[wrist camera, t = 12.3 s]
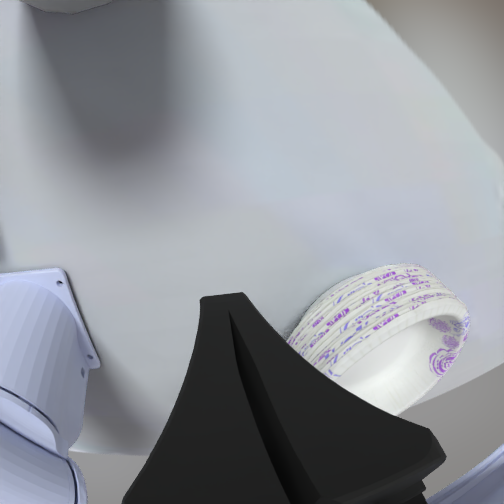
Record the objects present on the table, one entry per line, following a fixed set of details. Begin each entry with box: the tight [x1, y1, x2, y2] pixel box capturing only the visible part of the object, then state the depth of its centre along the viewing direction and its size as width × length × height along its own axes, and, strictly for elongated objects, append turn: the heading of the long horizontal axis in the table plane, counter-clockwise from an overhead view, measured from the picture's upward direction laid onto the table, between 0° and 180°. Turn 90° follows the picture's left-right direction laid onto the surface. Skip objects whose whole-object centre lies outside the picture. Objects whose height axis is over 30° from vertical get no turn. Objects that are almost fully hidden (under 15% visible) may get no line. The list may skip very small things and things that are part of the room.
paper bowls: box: [286, 263, 470, 416], centre depth 23 cm, size 15×15×8 cm
